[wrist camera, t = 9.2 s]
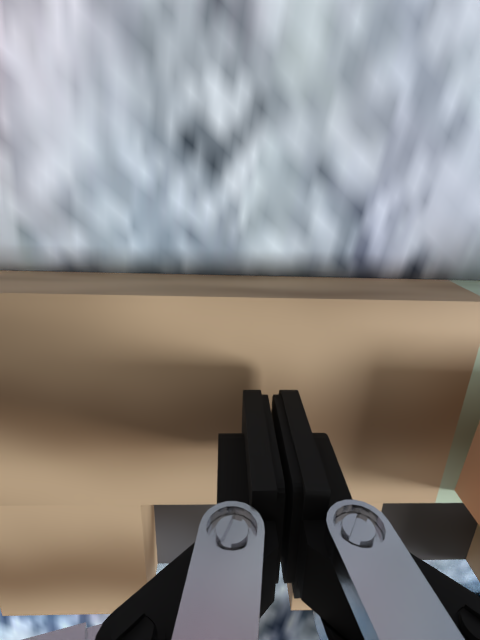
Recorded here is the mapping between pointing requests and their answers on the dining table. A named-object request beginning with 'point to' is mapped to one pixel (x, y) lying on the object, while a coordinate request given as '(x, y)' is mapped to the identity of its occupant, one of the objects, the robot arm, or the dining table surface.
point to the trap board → (216, 413)
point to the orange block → (471, 478)
